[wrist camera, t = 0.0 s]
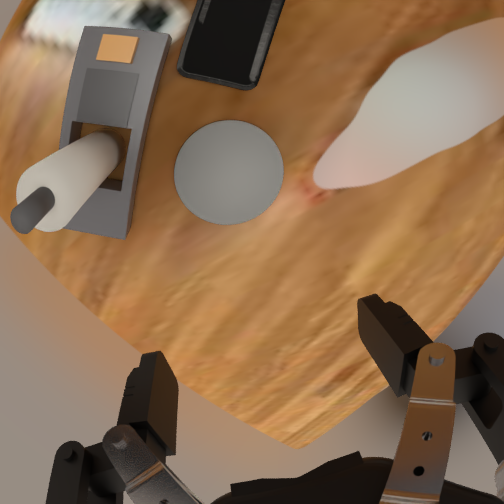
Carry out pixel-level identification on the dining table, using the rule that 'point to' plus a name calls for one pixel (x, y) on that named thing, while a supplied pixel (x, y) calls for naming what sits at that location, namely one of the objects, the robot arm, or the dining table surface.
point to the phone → (229, 41)
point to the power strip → (113, 113)
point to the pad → (228, 172)
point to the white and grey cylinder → (65, 181)
